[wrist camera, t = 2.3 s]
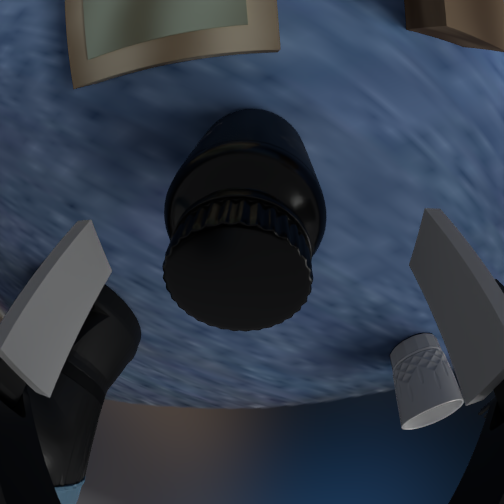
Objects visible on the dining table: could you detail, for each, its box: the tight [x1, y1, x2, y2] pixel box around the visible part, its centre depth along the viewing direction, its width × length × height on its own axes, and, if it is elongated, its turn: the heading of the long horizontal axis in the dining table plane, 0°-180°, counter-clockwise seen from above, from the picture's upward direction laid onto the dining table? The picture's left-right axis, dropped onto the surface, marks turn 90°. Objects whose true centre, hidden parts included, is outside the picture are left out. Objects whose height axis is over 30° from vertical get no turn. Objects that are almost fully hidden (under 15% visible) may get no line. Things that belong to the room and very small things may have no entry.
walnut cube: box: [404, 0, 504, 52], centre depth 8 cm, size 5×5×5 cm
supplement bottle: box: [163, 109, 326, 331], centre depth 14 cm, size 7×7×12 cm
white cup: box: [390, 333, 464, 430], centre depth 27 cm, size 8×8×10 cm
